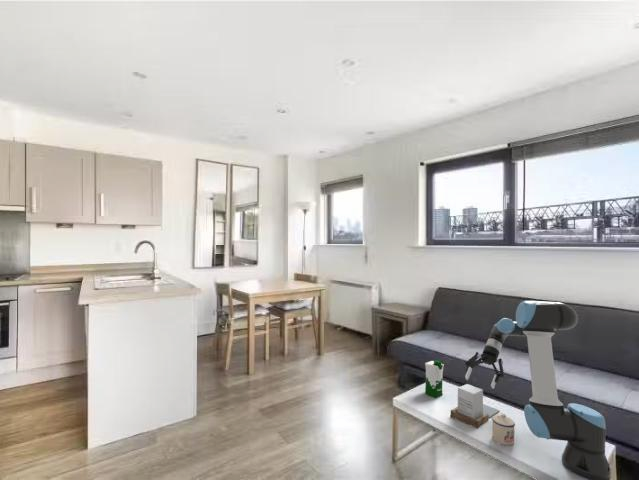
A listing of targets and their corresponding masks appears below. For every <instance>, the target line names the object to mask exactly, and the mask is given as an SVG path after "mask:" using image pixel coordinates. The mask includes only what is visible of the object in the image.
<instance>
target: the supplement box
mask: <svg viewBox="0 0 639 480" xmlns="http://www.w3.org/2000/svg"><path fill="white" fill-rule="evenodd" d="M483 401H484V389H483V388H479V387H477V386H474V385H471V384H468V383H466V384H464V385H463V384H462V386H459V387H457V407H458V413H460V414H463V415H465V416H467V417H470V418H472V419H474V420H476V419H478V418H479V417H481V416H483V404H484V402H483Z"/></svg>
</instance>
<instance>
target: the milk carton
mask: <svg viewBox="0 0 639 480" xmlns="http://www.w3.org/2000/svg"><path fill="white" fill-rule="evenodd" d="M424 365H425V366H424V367H425V388H424V389H425V390H424V394H425V395H428V396H430V397H432V398H434V399H437V398H439V397H441V396H443V372H444V366H445V364H443V363H442V361H441V360H439V359H435V360H430V361H427V362H425V363H424Z"/></svg>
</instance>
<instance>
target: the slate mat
mask: <svg viewBox="0 0 639 480" xmlns="http://www.w3.org/2000/svg"><path fill="white" fill-rule="evenodd" d="M500 411H501V410H499V409H498V408H495V407H492V406H489V405H486V404H485V403H483V415H484V414H489V416H488V419H492V417H493V416H494V415H498V413H500Z"/></svg>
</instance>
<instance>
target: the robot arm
mask: <svg viewBox="0 0 639 480" xmlns="http://www.w3.org/2000/svg"><path fill="white" fill-rule="evenodd" d="M578 322H579V318H578V314H577V312H576V311H575V309H574V308H573V307H572V306H570V305H568V304H566V303H563V302H558V301H542V300H541V301H539V300H523V301H521V302H520V303H519V304H518V306H517V308H516V311H515V321H513V319H511V318H508V317H507V318H506V317H503V318H501V319H500V320H499V321H497V323H495V324H494V325H493V327H492V329H491V331H490V334H489V336H488V339H487V341H486V344H485V346H484V348H483V350H482V353H479V352H478V351H476V352H475V354H474V355H472V357H470V358H469V359H468V360H467V361H466V362H465V363H464V365H465V366H466V370H465V372H466V373H465V376H464V378H465V379H466V380H467V381H469V378H470V376H471V374H472V371H473V368H475V367H477V366H479V365H482V364H484V365H488V366H492V368H493V370H494V372H495V374H494V376H493V379H492V381H491V384H490V387H491V389H495V386H496V384H498V383H499V381H500V379H501V378H503V379H505V377H506V376H505V373H504V372H505V371H504V368H503V363H504V361H503V359H502V358H499V355H500V352H501V350H502V348H503V344H504V342H505V340H506V339H507V337H508V336H511V337H513V336H514V337H526V338H527V348H528V351H527V352H528V360H529V370H530V371H529V372H530V377H531V380H530V381H531V388H532V389H531V391H532V396H531V397H530V398H529V399H528V401H529V402H528V403H529V404H526V405H525V406H524V409H523V415H524V420H525V421H526V424H527V426H528V428H529V430H530V432H531V433H532V434H533V436H535V437H537V438H540V439H545V440H554V441H555V440H556V441H565V442H566V445H565V447H564V449H563V452H562V454H561V462H562V464H563V465H564V466H565V468H567V469H568V470H569V471H571V472H572V473H574V474H576V475H577V476H579V477H583V478H585V479H588V480H611V478H612V470H611V467H610V464H609V462H608V459H607V456H606V430H607V426H606V419H605V417H604V416H603V414H601V413H600V412H598V411H597V410H595V409H593V408H590V407H588V406H586V405H583V404H580V403H576V402H575V403H574V402H572V403H571V402H570V403H568V404H567V406H566V407H567V408H566V407H565V408H564V403H562V402H561V401H560V399H559V397H558V388H557V381H556V380H557V379H556V378H557V377H556V370H555V369H556V368H555V362H554V354H553V353H554V352H553V344H552V337H553V336H554V335H555V334H556V333H555V331H558V330H559V331H567V330H571V329H573V328H575V326H577V324H578ZM496 363H498V367H499V371H498V368H497V367H496ZM499 372H500V373H499Z"/></svg>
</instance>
